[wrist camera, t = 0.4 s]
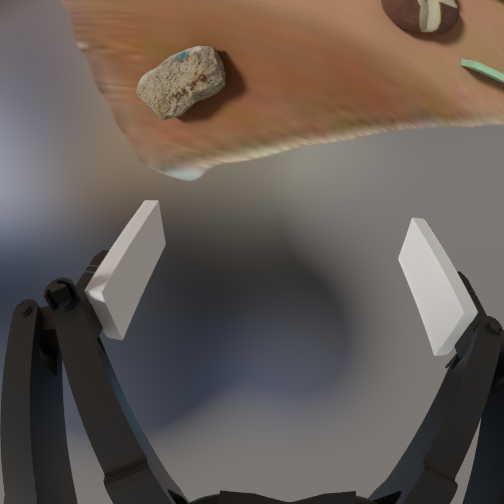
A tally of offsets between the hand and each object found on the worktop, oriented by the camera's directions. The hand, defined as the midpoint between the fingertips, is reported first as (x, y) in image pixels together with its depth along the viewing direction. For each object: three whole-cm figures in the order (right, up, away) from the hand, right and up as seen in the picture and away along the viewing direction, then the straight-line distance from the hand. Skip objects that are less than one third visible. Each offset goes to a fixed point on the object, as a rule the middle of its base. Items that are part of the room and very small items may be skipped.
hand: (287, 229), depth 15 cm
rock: (-10, +21, +19) cm, 30 cm away
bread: (+19, +31, +8) cm, 38 cm away
